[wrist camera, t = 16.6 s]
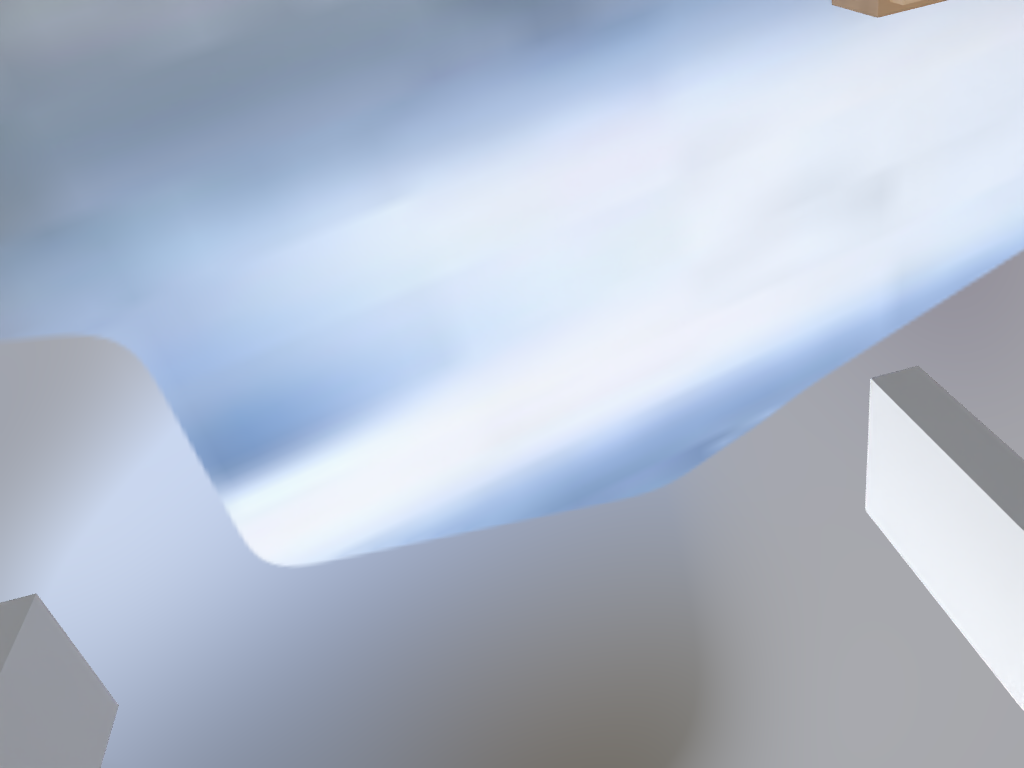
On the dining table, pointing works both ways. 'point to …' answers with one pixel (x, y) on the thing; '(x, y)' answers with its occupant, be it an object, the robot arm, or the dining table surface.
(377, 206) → the dining table surface
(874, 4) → the wooden square block
